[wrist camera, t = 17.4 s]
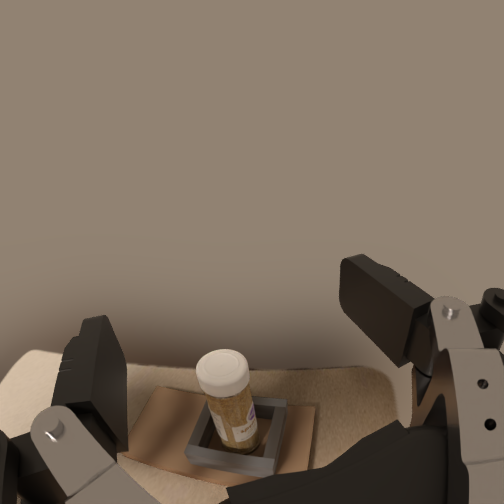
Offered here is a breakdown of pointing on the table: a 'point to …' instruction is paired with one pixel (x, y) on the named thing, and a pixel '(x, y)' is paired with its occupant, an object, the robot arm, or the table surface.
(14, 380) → the table surface
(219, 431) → the sprinkles bottle
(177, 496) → the table surface
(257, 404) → the board
